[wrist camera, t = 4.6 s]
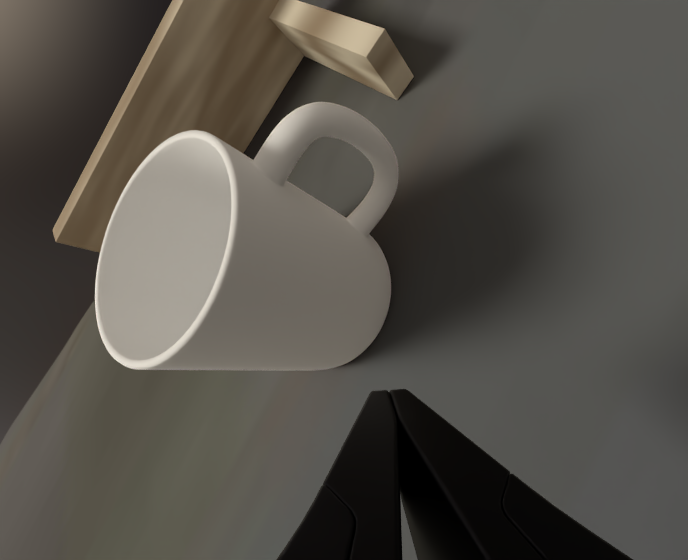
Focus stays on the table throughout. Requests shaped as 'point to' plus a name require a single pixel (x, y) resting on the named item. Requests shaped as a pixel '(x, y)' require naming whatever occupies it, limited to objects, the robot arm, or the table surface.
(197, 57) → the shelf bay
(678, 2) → the table surface
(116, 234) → the cup
